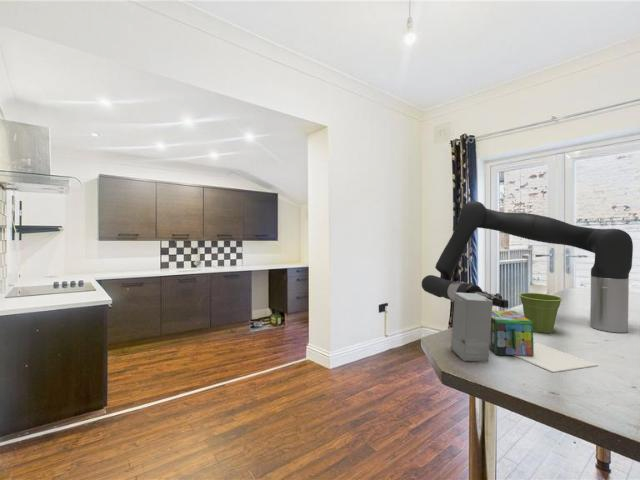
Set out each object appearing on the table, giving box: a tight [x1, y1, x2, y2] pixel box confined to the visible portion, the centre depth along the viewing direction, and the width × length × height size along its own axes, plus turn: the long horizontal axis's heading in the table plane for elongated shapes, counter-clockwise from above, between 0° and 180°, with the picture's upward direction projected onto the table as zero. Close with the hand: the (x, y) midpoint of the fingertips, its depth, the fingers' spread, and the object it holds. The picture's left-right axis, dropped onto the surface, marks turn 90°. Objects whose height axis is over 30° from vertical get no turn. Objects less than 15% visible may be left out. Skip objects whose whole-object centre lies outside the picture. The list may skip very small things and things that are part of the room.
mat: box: [512, 342, 599, 374], centre depth 80 cm, size 16×14×1 cm
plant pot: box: [518, 292, 563, 334], centre depth 102 cm, size 12×12×11 cm
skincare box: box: [450, 293, 493, 363], centre depth 81 cm, size 8×7×16 cm
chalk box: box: [489, 310, 534, 356], centre depth 84 cm, size 9×9×15 cm
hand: (506, 304), depth 91 cm, fingers closed
